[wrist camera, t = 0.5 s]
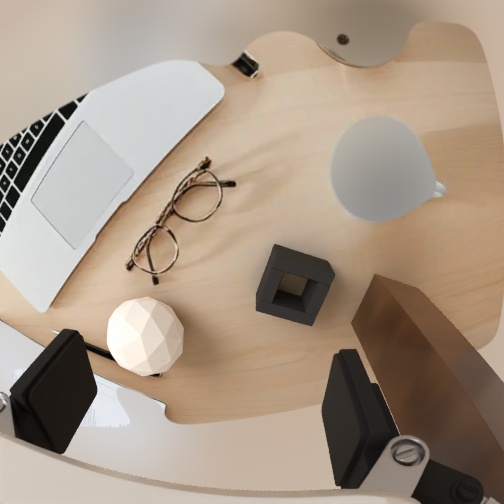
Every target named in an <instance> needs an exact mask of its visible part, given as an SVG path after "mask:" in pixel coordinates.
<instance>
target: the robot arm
mask: <svg viewBox="0 0 504 504" xmlns="http://www.w3.org/2000/svg"><path fill="white" fill-rule="evenodd" d="M10 392H11V395H10V397H8V395H7V394H5V393H3V392H0V504H500V503H499V502H497V501H496V500H495V499H493V498H492V497H490V498H489V499H487V498H486V497H485V496H484V488H483V486H482V484H481V483H480V482H479V480H478V479H476V478H474V477H472V476H470V475H467V474H465V473H462V472H460V471H457V470H455V469H452V468H450V467H448V466H445V465H443V464H440V463H438V462H436V461H434V460H431V459H429V455H430V453H429V448H428V447H427V445H426V443H424V442H423V441H422V440H421V439H419V438H417V437H415V436H411V435H401V436H400V434H399V432H398V430H397V427H396V425H395V423H394V420H393V418H392V415H391V413H390V411H389V408H388V406H387V404H386V401H385V399H384V397H383V394H382V392H381V390H380V388H379V386H378V384H376V383H371V382H370V380H369V377H368V375H367V373H366V370H365V368H364V366H363V363H362V361H361V359H360V356H359V354H358V352H357V350H356V349H341V350H340V351H339V353H337V354H334V356H333V361H332V365H331V370H330V374H329V379H328V383H327V387H326V392H325V396H324V400H323V404H322V418H323V423H324V428H325V433H326V438H327V443H328V447H329V453H330V459H331V464H332V469H333V474H334V480H335V484H336V486H341V489H336V490H335V489H333V490H310V491H250V490H230V489H217V488H207V487H198V486H190V485H183V484H176V483H169V482H163V481H158V480H153V479H147V478H143V477H138V476H133V475H128V474H125V473H120V472H116V471H112V470H109V469H104V468H101V467H97V466H94V465H91V464H87V463H84V462H81V461H78V460H75V459H72V458H69V457H66V456H63V455H61V454H63V453H64V452H65V451H66V449H67V447H68V445H69V443H70V442H71V439H72V438H73V436H74V434H75V432H76V430H77V429H78V427H79V425H80V423H81V421H82V420H83V418H84V416H85V414H86V413H87V411H88V409H89V407H90V405H91V404H92V402H93V400H94V398H95V397H96V395H97V385H96V382H95V379H94V375H93V372H92V369H91V365H90V362H89V358H88V354H87V351H86V347H85V343H84V339H83V336H82V335H80V333H79V332H78V331H77V330H71V329H63V330H62V331H61V332H60V333H59V334H58V335H57V336H56V337H55V339H54V340H53V341H52V342H51V343H50V344H49V345H48V346H47V347H46V348H45V349H44V351H43V352H42V353H41V354H40V355H39V356H38V357H37V359H36V360H35V361H34V362H33V363H32V364H31V365H30V366H29V368H28V369H27V370H26V371H25V372H24V373H23V374H22V376H21V377H20V378H19V379H18V380H17V381H16V383H15V384H14V385H13V386H12V387H11V389H10Z"/></svg>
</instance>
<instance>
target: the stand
mask: <svg viewBox="0 0 504 504" xmlns="http://www.w3.org/2000/svg"><path fill="white" fill-rule="evenodd" d="M351 324H352V326H353V328H354V330H355V333H356V335H357V337H358V339H359V341H360V343H361V345H362V347H363V350H364V352H365V354H366V356H367V358H368V361H369V363H370V365H371V367H372V369H373V372H374V374H375V376H376V378H377V381H378V383H379V385H380V387H381V390H382V392H383V394H384V396H385V399H386V401H387V404H388V406H389V408H390V411H391V413H392V415H393V418H394V420H395V423H396V425H397V427H398V430H399V432H400V435H411V436H415V437H417V438H419V439H421V440H422V441H423V442H424V443H426V445H427V447H428V448H429V453H430V455H429V459H431V460H434V461H436V462H438V463H440V464H443V465H445V466H448V467H450V468H452V469H455V470H457V471H460V472H462V473H465V474H467V475H470V476H472V477H474V478H476V479H478V480H479V482H480V483H481V484H482V486H483V488H484V496H485V497H486V498H487V499H489V498H490V497H492V498H493V499H495V500H496V501H497V502H499V503H500V504H504V383H503V381H502V380H501V379H500V378H499V377H498V375H497V374H496V373H495V372H494V370H493V369H492V368H491V367H490V366H489V364H488V363H487V362H486V361H485V360H484V359H483V357H482V356H481V355H480V354H479V353H478V352H477V351H476V349H475V348H474V347H473V346H472V345H471V344H470V343H469V342H468V340H467V339H466V338H465V337H464V336H463V335H462V334H461V333H460V332H459V330H458V329H457V328H456V327H455V326H454V325H453V324H452V323H451V322H450V321H449V320H448V319H447V318H446V316H445V315H444V314H443V313H442V312H441V311H440V310H439V309H438V308H437V307H436V306H435V305H434V304H433V303H432V302H431V301H430V300H429V299H428V298H427V297H426V296H425V295H424V294H423V293H422V292H421V291H420V290H419V289H418V288H415V287H412V286H409V285H406V284H403V283H400V282H397V281H394V280H391V279H388V278H385V277H382V276H379V275H376V274H375V275H374V277H373V279H372V282H371V284H370V286H369V288H368V290H367V292H366V294H365V296H364V298H363V300H362V303H361V305H360V307H359V309H358V311H357V313H356V315H355V317H354V319H353V321H352V323H351Z"/></svg>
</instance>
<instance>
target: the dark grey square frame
mask: <svg viewBox="0 0 504 504" xmlns="http://www.w3.org/2000/svg"><path fill="white" fill-rule="evenodd" d="M284 271H285V272H288V273H291V274H295V275H298V276H301V277H304V278H308V281H307V284H306V286H305V289H304V291H303V293H302V296H301V297H300V296H297V295H293V294H290V293H286V292H283V291H280V290H277V289H278V286H279V284H280V281H281V279H282V276H283V274H284ZM334 276H335V273H334V271H333V270H332V268H331V266H330V264H329V263H328V261H326V260H323V259H320V258H317V257H314V256H311V255H308V254H304V253H301V252H298V251H295V250H292V249H289V248H286V247H283V246H280V245H276V244H274V246H273V249H272V252H271V255H270V257H269V260H268V263H267V266H266V268H265V271H264V274H263V277H262V279H261V282H260V285H259V287H258V290H257V293H256V311H259V312H262V313H266V314H269V315H273V316H276V317H280V318H283V319H287V320H291V321H294V322H298V323H302V324H305V325H309V326H312V325H313V323H314V321H315V319H316V316H317V314H318V312H319V310H320V308H321V306H322V304H323V301H324V299H325V297H326V295H327V292H328V290H329V288H330V285H331V283H332V281H333V279H334Z"/></svg>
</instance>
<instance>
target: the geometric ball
mask: <svg viewBox="0 0 504 504" xmlns="http://www.w3.org/2000/svg"><path fill="white" fill-rule="evenodd" d="M183 334H184V328H183V326H182V324H181V323H180V321H179V319H178V318H177V316H176V314H175V313H174V311H173V309H172V308H171V307H170V306H168V305H166V304H164V303H162V302H159V301H157V300H155V299H153V298H151V297H143V298H139V299H134V300H129V301H125V302H124V303H122V304H121V305H120V306H119V307H118V308H117V309H116V310H115V311H114V313H113V314H112V316H111V317H110V319H109V323H108V331H107V345H108V347H109V350H110V352H111V354H112V356H113V357H114V358H115V360H116V361H117V363H118V364H119V365H120V366H121V367H123V368H126V369H128V370H130V371H132V372H134V373H136V374H139V375H141V376H147V375H152V374H156V373H161V372H166V371H167V370H168V369H169V368H170V367H171V366H172V364H173V363H174V362H175V361H176V360H177V359H178V357H179V356H180V355H181V354H182V350H183Z"/></svg>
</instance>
